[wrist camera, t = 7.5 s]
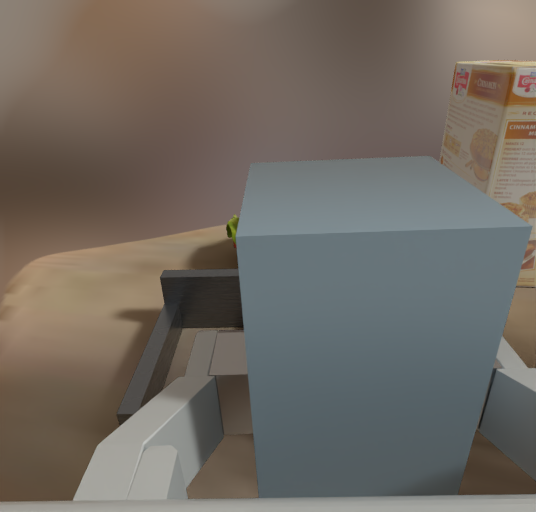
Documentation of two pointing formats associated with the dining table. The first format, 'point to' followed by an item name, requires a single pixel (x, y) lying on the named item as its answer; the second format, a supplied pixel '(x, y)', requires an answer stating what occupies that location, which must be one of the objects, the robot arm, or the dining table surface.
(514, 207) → the coffeecake box
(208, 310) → the rail channel
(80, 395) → the dining table surface
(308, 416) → the pale blue rectangular prism
